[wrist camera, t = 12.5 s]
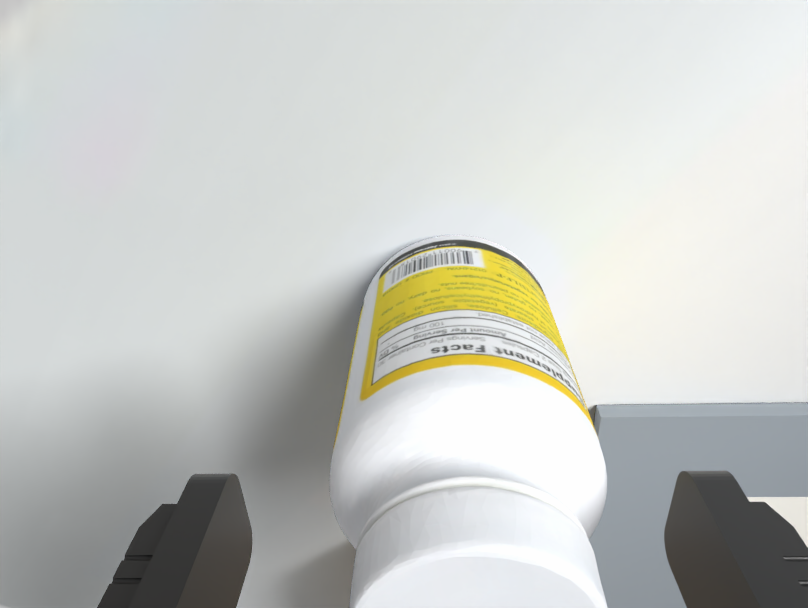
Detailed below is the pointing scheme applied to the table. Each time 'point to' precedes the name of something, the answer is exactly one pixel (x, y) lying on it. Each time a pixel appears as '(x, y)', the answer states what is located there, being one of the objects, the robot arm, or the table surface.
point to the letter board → (687, 451)
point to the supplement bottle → (465, 440)
